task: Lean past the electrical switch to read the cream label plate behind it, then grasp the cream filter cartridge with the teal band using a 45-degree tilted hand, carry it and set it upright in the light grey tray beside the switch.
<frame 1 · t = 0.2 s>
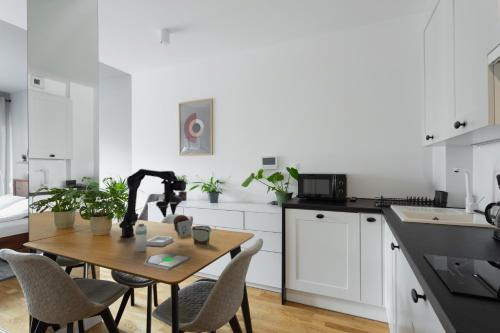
hand: (169, 215, 156), 15 cm above the table, tool pointing down, fingers open, 9 cm apart
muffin: (181, 229, 182), on the table
cartridge: (141, 250, 136), on the table
tray: (159, 242, 149), on the table
electrical switch: (183, 235, 166), on the table
white flat slab: (162, 261, 121), on the table
label plate: (194, 235, 164), on the table
food container: (203, 244, 147), on the table
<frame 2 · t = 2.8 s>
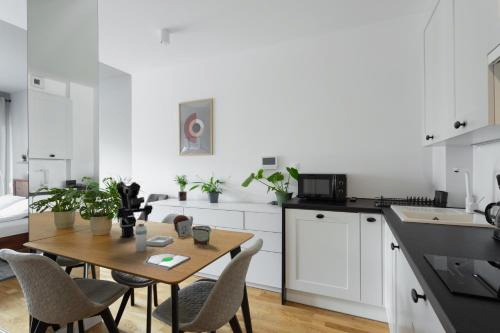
hand: (137, 222, 143), 13 cm above the table, tool tilted 45°, fingers open, 9 cm apart
nothing on the table moved.
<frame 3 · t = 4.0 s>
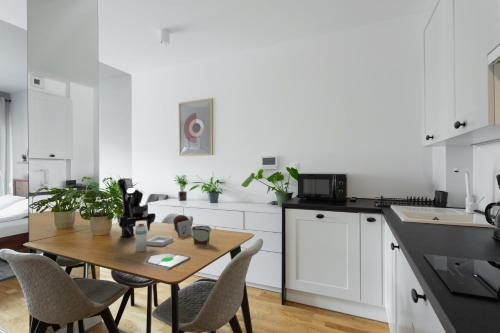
hand: (140, 232, 138), 9 cm above the table, tool tilted 45°, fingers open, 9 cm apart
nothing on the table moved.
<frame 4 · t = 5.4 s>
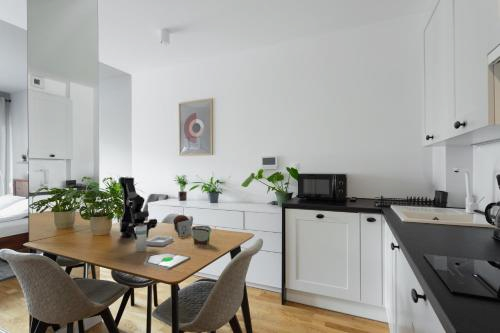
hand: (141, 238, 135), 7 cm above the table, tool tilted 45°, fingers closed on cartridge, 5 cm apart
cartridge: (141, 250, 136), on the table, touching gripper
everything else where it was.
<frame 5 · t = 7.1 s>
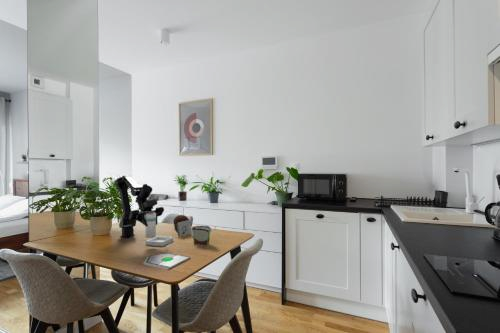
hand: (152, 225, 141), 12 cm above the table, tool tilted 45°, fingers closed on cartridge, 5 cm apart
cartridge: (150, 236, 142), point 6 cm above the table, touching gripper
everything else where it was.
when the fingers open (8 cm above the table, at t = 8.8 s): cartridge drops 1 cm, resting on tray.
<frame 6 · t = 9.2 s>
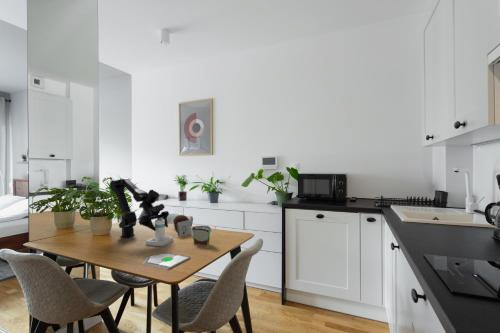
hand: (161, 228, 149), 9 cm above the table, tool tilted 45°, fingers open, 9 cm apart
cartridge: (159, 241, 149), point 1 cm above the table, touching tray
everything else where it was.
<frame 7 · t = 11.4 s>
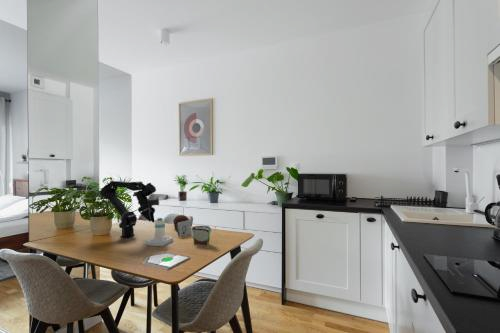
hand: (152, 221, 157), 11 cm above the table, tool tilted 30°, fingers open, 9 cm apart
nothing on the table moved.
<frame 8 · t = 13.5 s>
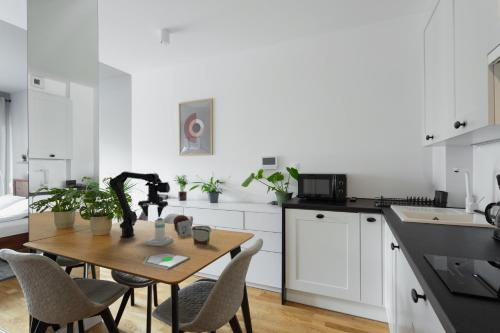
hand: (153, 216, 162), 13 cm above the table, tool pointing down, fingers open, 9 cm apart
nothing on the table moved.
at the end: cartridge inside the target area on the tray (0.0 cm from its centre), point 0.5 cm above the tray's base; cartridge tilted 0°; the gripper is holding nothing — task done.
